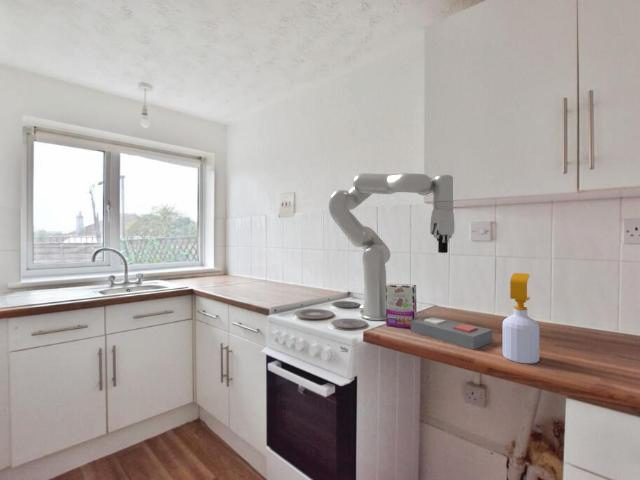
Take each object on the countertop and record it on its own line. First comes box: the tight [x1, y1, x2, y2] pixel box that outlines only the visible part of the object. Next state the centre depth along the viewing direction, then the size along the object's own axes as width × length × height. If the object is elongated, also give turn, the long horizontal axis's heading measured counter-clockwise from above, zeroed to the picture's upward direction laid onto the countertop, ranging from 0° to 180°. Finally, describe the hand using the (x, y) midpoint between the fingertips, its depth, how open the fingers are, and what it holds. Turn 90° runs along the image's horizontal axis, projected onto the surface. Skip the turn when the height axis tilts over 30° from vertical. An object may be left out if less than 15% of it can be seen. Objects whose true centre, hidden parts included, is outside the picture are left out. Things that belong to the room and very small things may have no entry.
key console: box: [410, 315, 493, 350], centre depth 116 cm, size 24×12×4 cm, turn 36°
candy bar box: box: [385, 283, 418, 330], centre depth 129 cm, size 11×5×16 cm, turn 62°
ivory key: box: [424, 318, 445, 325], centre depth 121 cm, size 5×5×2 cm
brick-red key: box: [454, 324, 478, 333], centre depth 111 cm, size 5×5×2 cm
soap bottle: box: [502, 272, 540, 365], centre depth 95 cm, size 9×9×25 cm
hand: (442, 252), depth 131 cm, fingers closed
